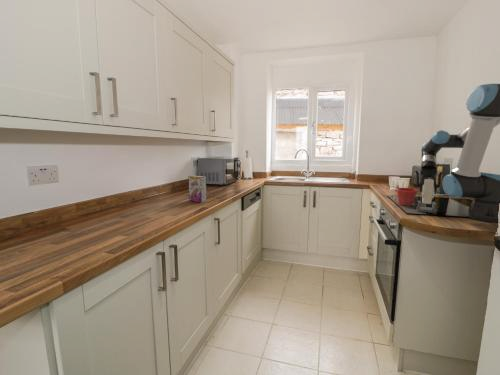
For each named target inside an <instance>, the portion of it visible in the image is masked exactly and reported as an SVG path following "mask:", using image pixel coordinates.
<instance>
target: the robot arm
mask: <svg viewBox="0 0 500 375" xmlns="http://www.w3.org/2000/svg"><path fill="white" fill-rule="evenodd" d="M465 104H466V109H467V110H468V111H469V113H468V114H469V117H471V122H470V124H469V126H468V127H466V128H465V129H464V130H463V131H461V132H460V133H459V134H450V133H449V132H448V131H445V130H443V129H442V130H438V131H436V132H435V133H434V134H433V135H432V136H431V138H430V140H429V141H427V142H424V143H423V144H422V146H421V150H420V151H421V160H420V161H421V163H420V170H415V172H414V174H415V185H416V187H419V192H420V193H421V199H422V198H423V197H424V179H433V180H434V185H433V193H432V199H434V198H435V194H436V193H437V192H438V191H437V190H438V189H441V184H442V189H443V192H444V193H445V195H446V196H448V197H450V198H455V199H456V198H457V199H472V202H471V204H470V206H469V208H468V209H467V211H466V217H467V216H468V218H470V219H473V220H477V221H478V220H479V221H483V222H491V223H499V222H498V211H499V203H500V174H496V173H489V172H481V171H479V170H480V167H481V165H482V162H483V159H484V157H485V154H486V150H487V148H488V144H489V143H490V140H491V136H492V135H493V134H492V133H493V131H494V128H496V127H498V125H500V83H486V84H480V85H478V86H477V87H475V88H474V89H473V90H472V91H471V92H470V93H469V95H468V97H467V99H466V103H465ZM445 148H446V149H462V150H461V153H460V156H459V159H458V162H457V165H456V167H454V168H452V169H451V173H450V174H446V175H445V176H444V177H443V174H444V173H443V172H442V171H440V172H439V171H438V170H437V155H438V153H439V151H440V150H442V149H445ZM420 175H421V176H422V178H421V180H420ZM436 175H437V181H436V179H435V176H436ZM442 177H443V179H442ZM420 181H421V182H420Z"/></svg>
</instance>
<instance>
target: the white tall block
mask: <svg viewBox="0 0 500 375" xmlns="http://www.w3.org/2000/svg"><path fill="white" fill-rule="evenodd" d="M423 185H424V197H423V198H422V197H421V204H427V205H432V203H433V201H432V200H433V198H432V193H433V185H434V180H433V179H430V178H425V179H424V184H423Z"/></svg>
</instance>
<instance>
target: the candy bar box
mask: <svg viewBox="0 0 500 375" xmlns="http://www.w3.org/2000/svg"><path fill="white" fill-rule="evenodd" d="M188 200H189V202H196V203H201V204H202V203H203V204H204V203H206V202H207V176H202V175H195V174H193V175H189V176H188Z"/></svg>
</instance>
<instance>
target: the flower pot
mask: <svg viewBox="0 0 500 375" xmlns="http://www.w3.org/2000/svg"><path fill="white" fill-rule="evenodd" d="M396 191H397V193H396V194H397V204H399V205H400V206H409V207H410V206H413V205H414V202H415V198H416V196H417V193H418V190H417V189H416V188H409V187H397V188H396Z"/></svg>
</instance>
